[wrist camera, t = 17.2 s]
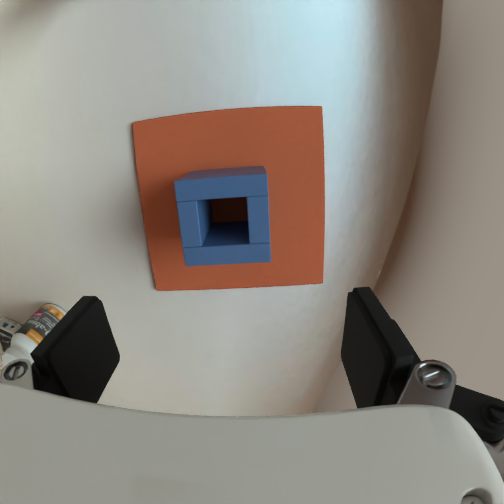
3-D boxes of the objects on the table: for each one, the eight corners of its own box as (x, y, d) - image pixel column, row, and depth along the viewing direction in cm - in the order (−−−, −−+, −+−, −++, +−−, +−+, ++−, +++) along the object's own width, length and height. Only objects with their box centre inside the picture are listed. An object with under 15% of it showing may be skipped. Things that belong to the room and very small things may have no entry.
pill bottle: (71, 305, 30) (26, 357, 21) (80, 344, 32) (45, 397, 23) (36, 298, 30) (-9, 343, 20) (47, 335, 32) (9, 382, 22)
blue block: (264, 165, 24) (267, 173, 18) (267, 235, 26) (271, 262, 21) (192, 171, 24) (173, 181, 19) (199, 238, 26) (184, 266, 21)
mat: (321, 106, 22) (322, 106, 22) (322, 281, 28) (322, 283, 28) (134, 122, 23) (132, 122, 23) (157, 289, 29) (156, 291, 28)
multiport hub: (20, 369, 35) (13, 378, 33) (2, 316, 31) (-7, 324, 29) (39, 378, 35) (33, 387, 33) (21, 324, 31) (13, 333, 29)
